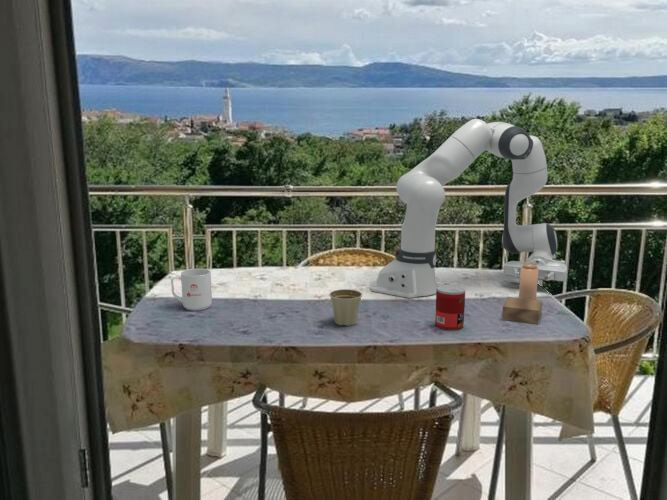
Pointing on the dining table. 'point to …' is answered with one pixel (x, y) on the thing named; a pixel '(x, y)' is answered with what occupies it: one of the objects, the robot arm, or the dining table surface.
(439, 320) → the canned food
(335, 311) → the flower pot
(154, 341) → the dining table surface
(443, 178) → the robot arm
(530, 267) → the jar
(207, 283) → the mug
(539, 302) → the pedestal
